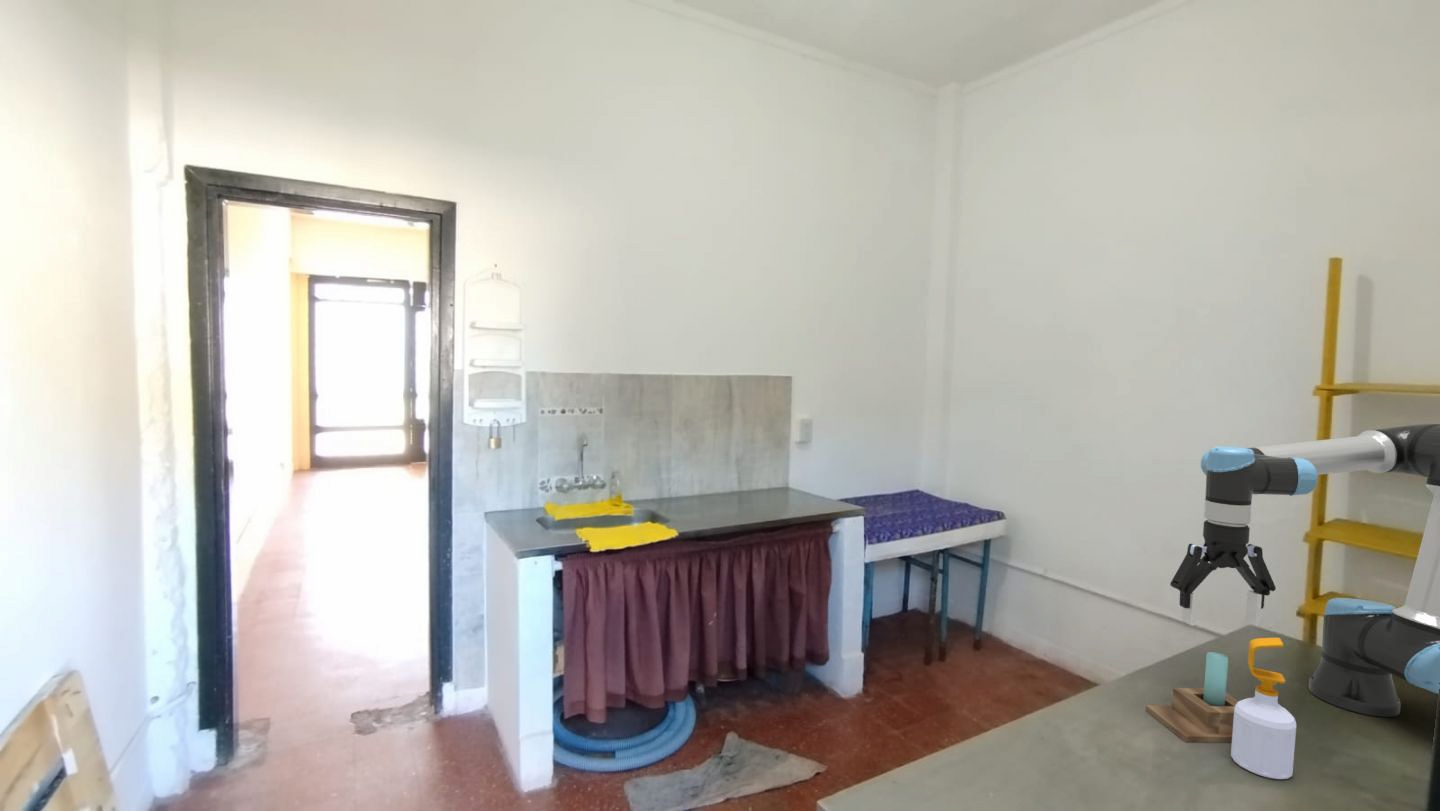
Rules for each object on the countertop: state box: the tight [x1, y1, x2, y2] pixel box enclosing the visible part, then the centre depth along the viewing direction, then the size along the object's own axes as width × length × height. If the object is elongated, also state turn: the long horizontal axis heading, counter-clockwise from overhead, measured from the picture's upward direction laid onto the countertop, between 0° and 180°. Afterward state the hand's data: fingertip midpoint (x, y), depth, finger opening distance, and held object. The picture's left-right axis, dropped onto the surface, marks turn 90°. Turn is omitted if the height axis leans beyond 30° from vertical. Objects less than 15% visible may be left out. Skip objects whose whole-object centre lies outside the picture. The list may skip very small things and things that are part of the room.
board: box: [1145, 687, 1240, 744], centre depth 138 cm, size 20×12×6 cm, turn 91°
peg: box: [1203, 651, 1229, 706], centre depth 138 cm, size 4×4×14 cm
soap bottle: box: [1230, 637, 1297, 780], centre depth 124 cm, size 9×9×25 cm
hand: (1220, 623), depth 137 cm, fingers open, 13 cm apart
